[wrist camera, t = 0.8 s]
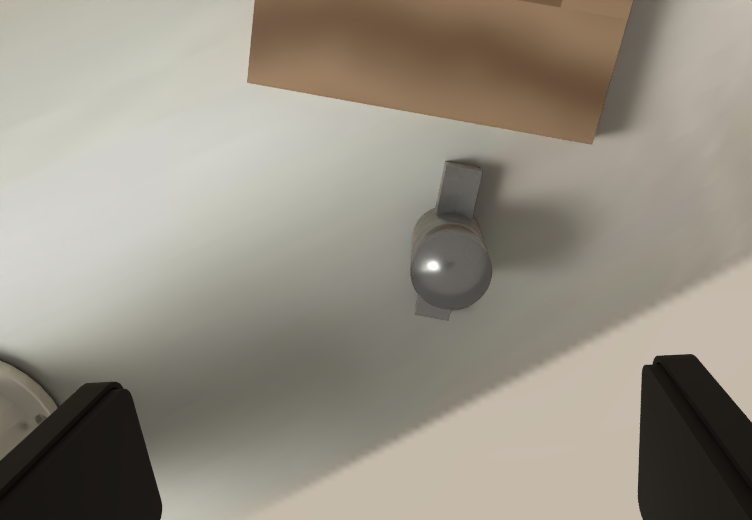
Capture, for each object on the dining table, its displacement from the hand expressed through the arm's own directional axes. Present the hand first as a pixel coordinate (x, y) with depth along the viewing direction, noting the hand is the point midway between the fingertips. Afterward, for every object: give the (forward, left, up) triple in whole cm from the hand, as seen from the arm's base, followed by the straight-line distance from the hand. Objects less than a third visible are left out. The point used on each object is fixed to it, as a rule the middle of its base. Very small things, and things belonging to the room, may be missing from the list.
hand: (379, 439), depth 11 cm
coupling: (-3, -3, -24) cm, 25 cm away
